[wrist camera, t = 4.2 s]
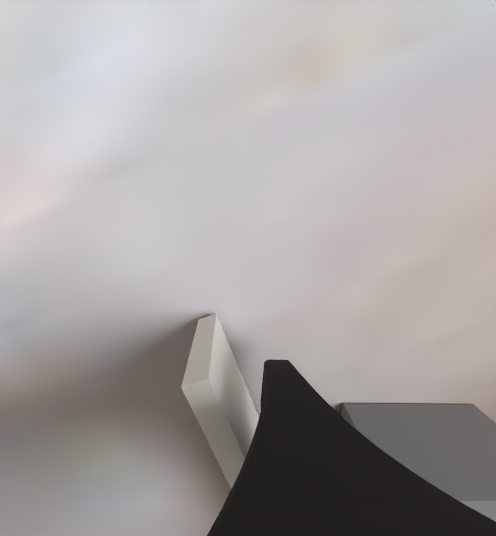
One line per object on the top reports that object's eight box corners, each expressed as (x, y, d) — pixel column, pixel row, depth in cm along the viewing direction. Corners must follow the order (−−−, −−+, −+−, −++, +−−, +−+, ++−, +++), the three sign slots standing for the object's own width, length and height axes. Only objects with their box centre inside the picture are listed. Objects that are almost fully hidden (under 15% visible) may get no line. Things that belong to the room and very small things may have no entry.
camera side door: (216, 313, 11) (208, 378, 7) (315, 554, 16) (344, 679, 12) (189, 322, 11) (167, 392, 7) (295, 560, 16) (318, 687, 12)
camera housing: (473, 404, 14) (583, 498, 10) (422, 553, 17) (490, 678, 12) (342, 403, 13) (397, 502, 9) (313, 557, 16) (344, 689, 12)
